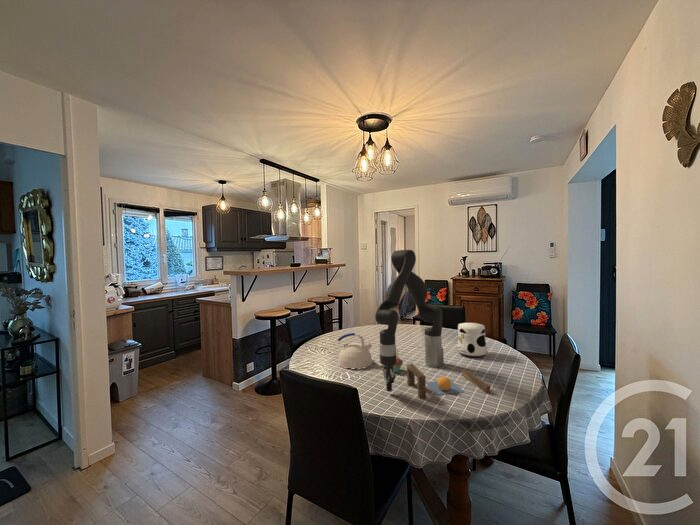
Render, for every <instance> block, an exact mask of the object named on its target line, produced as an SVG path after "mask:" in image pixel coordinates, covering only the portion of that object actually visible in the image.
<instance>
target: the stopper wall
mask: <svg viewBox="0 0 700 525" xmlns="http://www.w3.org/2000/svg"><path fill="white" fill-rule="evenodd" d="M461 376H462V377H463V376H464V377H463V378H465V380H467V381H468V382H470V383H471V382H472V383H471V384H473V385H474V386H476V387H477V388H478V387H479V388H478V389H480V390H481V391H482V390H483V392H484V393H485V394H491V386H490V385H489V384H487V383H486V382H485V381H483V380H482V379H480V378H479V377H477V376H476V375H475V374H473V373H472V372H470V371H469V370H467V369H462V370H461Z"/></svg>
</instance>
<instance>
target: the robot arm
mask: <svg viewBox="0 0 700 525" xmlns="http://www.w3.org/2000/svg"><path fill="white" fill-rule="evenodd" d="M416 256H417V255H416V253H415V252H414V251H413V249H400V250H399V249H398V250H395V251H393V252H392V253H391V256H390V257H391V258H390V259H391V260H390V261H391V263H392V266H393V268H394V269H395V270H396V272H397V273H398V274H397V276H396V277H395V278H394V279H393V280H392V281H391V282H390V284H389V286H387V290H386V293H385V296H384V299H383V300H382V301H381V304H380V305H379V307H378V308H377V310H376V311H375V315H374V318H375V321H376V322H377V324H379V325H386V326H387V328H386V329H382V330H380V331H379V363H380V365H382V367H381V368H382V372H383V373H382V374H383V378H384V381H385V382H386V383H385V388H386V391H387V392H393V384H394V383H395V379H396V374H394V373H395V372H394V368H393V365H395V364H396V363H397V359H396V356H397V345H396V331H397V327H398V323H399V313H398V312H397V311H396V310H394V309H392V308H397V307H398V306H399V304H400V301H401V299H402V293H403V290H404V288H405V286H406V288H407V290H408V292H409V294H410V295H411V297H412V300H413V301H414V303H415V306H416V308H417V310H418V313H419V316H420V319H421V320H423V321H424V322H427V323H430V324H431V323H432V326H431V327H427V328H425V329H424V354H425V355H424V356H425V357H424V358H425V359H424V360H425V362H424V363H425V365H426V366H427V367H430V368H431V367H432V368H440V367H443V366H444V365H445V361H444V360H445V358H444V348H443V346H442V342H443V341H442V330H443V310H442V308H441V307H439V306H432V305H428V304H427V302H426V300H427V296H428V287H427V285H426V284H425V281H424V280H423V279H422V278H421V277H420V276H419V275H417V274H416V273H415V272H413V269H414V267H415V264H416V262H417V261H416V260H417V259H416V258H417V257H416Z"/></svg>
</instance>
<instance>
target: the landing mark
mask: <svg viewBox="0 0 700 525" xmlns="http://www.w3.org/2000/svg"><path fill="white" fill-rule="evenodd" d="M449 380H450V382H451V387H450V389H449V390H447V391H444V390H441V389H440V388H439V387H438V380H436V381H426V386H428V387H429V388H430V389H431V390H432V391H433V392H434V393H435V394H436V395H437V396H441V395H442V396H443V395H451V394H458V393H465V390H463V389H462V388H461V387H460V386H458V384H456V383H455V382H453V381H452V380H451V379H449Z"/></svg>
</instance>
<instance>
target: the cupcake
mask: <svg viewBox="0 0 700 525" xmlns="http://www.w3.org/2000/svg"><path fill="white" fill-rule="evenodd" d="M398 356H399V349H396V359H397V363H396V364H395V365H393V368H394V372H393V373H399V372H400V370H401V367H402V366H403V364H404V363H403V360H402V359H401V358H400V357H398Z"/></svg>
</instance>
